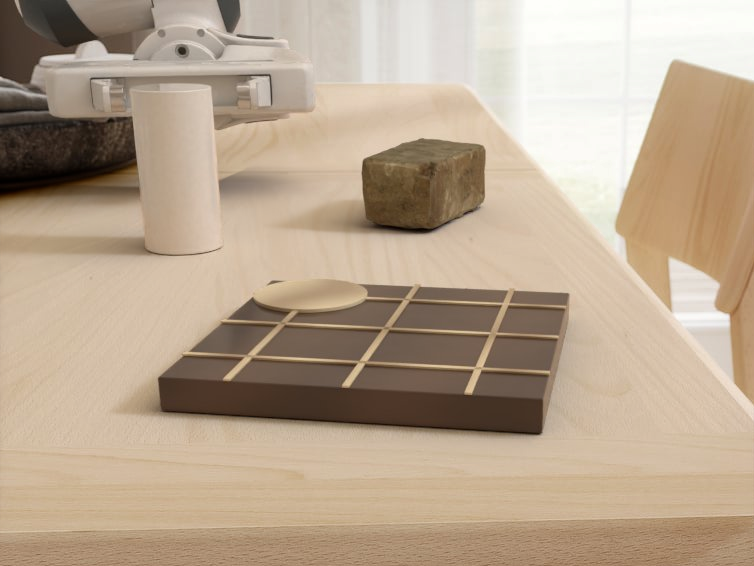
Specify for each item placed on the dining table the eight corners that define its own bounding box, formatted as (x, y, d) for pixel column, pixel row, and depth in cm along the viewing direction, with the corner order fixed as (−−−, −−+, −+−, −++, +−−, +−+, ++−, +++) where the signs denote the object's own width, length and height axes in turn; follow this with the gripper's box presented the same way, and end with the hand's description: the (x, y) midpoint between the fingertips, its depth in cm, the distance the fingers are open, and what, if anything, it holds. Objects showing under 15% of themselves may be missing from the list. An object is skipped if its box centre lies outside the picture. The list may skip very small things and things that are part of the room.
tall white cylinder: (133, 253, 75) (115, 90, 71) (162, 236, 79) (148, 82, 76) (208, 256, 74) (194, 92, 70) (233, 239, 79) (222, 84, 75)
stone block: (357, 228, 82) (355, 155, 80) (419, 200, 92) (419, 134, 90) (434, 235, 80) (434, 160, 78) (489, 205, 90) (490, 138, 88)
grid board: (160, 411, 49) (156, 372, 48) (273, 306, 63) (271, 276, 63) (542, 434, 47) (543, 394, 46) (568, 320, 61) (570, 288, 60)
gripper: (50, 41, 94) (24, 55, 81) (305, 37, 97) (318, 50, 85) (60, 122, 96) (37, 147, 84) (309, 116, 100) (322, 139, 87)
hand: (180, 98), depth 84 cm, fingers open, 8 cm apart
